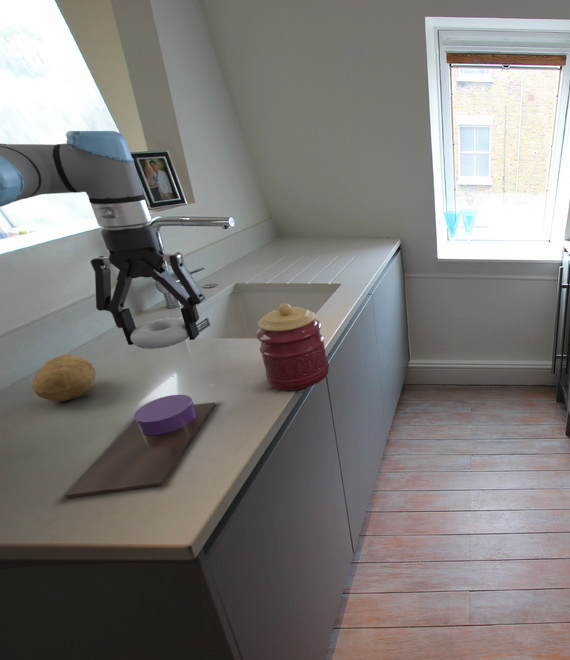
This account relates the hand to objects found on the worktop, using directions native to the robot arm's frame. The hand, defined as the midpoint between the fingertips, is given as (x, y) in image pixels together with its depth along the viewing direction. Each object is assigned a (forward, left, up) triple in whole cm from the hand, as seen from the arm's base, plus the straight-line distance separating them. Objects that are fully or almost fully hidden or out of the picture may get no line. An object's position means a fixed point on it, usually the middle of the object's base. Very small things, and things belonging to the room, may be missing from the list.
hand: (164, 339), depth 88 cm
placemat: (+1, -16, -13) cm, 21 cm away
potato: (-24, +6, -14) cm, 28 cm away
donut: (0, 0, 0) cm, 0 cm away
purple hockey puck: (+1, -10, -13) cm, 16 cm away
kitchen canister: (+22, +4, -14) cm, 26 cm away
